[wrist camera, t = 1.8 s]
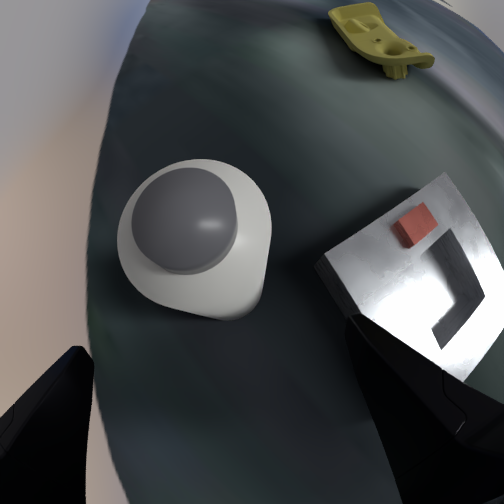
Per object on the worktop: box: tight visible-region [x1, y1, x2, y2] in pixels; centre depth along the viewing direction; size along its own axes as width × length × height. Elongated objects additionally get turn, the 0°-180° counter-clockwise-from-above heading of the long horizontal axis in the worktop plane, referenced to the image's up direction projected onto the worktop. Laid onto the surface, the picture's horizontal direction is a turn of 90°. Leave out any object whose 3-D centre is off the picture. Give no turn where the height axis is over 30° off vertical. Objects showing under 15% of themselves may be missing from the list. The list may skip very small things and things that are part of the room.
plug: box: [117, 159, 271, 321], centre depth 13 cm, size 5×5×12 cm
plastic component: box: [328, 2, 435, 80], centre depth 26 cm, size 20×7×10 cm
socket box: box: [313, 172, 504, 382], centre depth 17 cm, size 14×14×4 cm
